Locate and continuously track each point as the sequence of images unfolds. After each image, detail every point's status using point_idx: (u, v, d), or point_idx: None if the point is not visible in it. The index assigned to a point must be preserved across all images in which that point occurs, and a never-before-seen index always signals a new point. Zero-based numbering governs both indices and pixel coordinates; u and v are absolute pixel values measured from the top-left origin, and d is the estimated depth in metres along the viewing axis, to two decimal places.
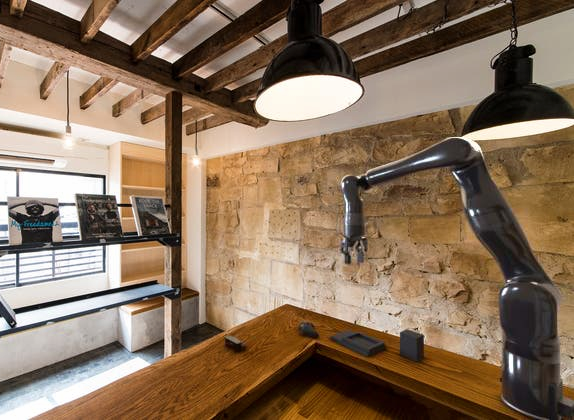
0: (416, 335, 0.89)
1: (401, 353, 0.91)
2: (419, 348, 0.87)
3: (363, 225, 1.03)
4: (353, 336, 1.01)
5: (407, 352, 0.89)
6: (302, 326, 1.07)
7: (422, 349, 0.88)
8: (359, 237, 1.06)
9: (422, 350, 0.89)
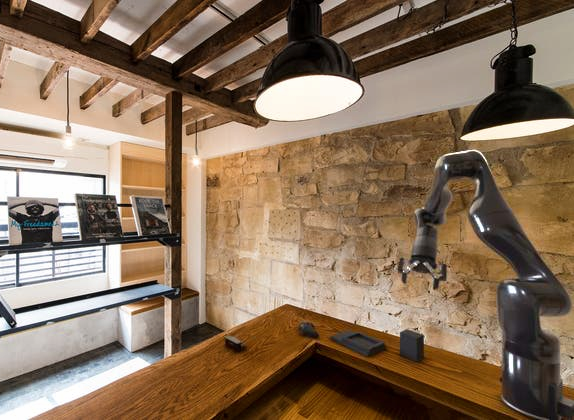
0: (416, 335, 0.89)
1: (401, 353, 0.91)
2: (419, 348, 0.87)
3: (423, 245, 1.01)
4: (353, 336, 1.01)
5: (407, 352, 0.89)
6: (302, 326, 1.07)
7: (422, 349, 0.88)
8: (428, 260, 0.99)
9: (422, 350, 0.89)
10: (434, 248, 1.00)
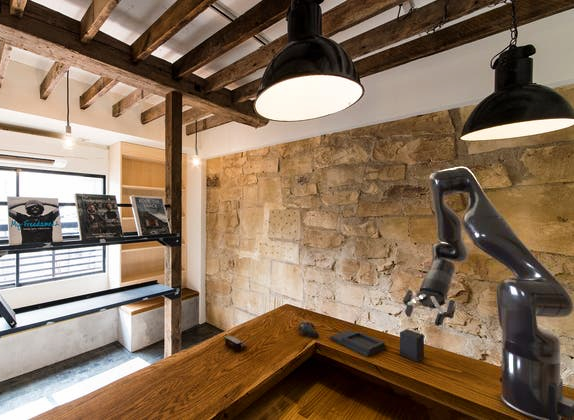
0: (416, 335, 0.89)
1: (401, 353, 0.91)
2: (419, 348, 0.87)
3: (432, 279, 0.97)
4: (353, 336, 1.01)
5: (407, 352, 0.89)
6: (302, 326, 1.07)
7: (422, 349, 0.88)
8: (436, 295, 0.95)
9: (422, 350, 0.89)
10: (445, 283, 0.95)
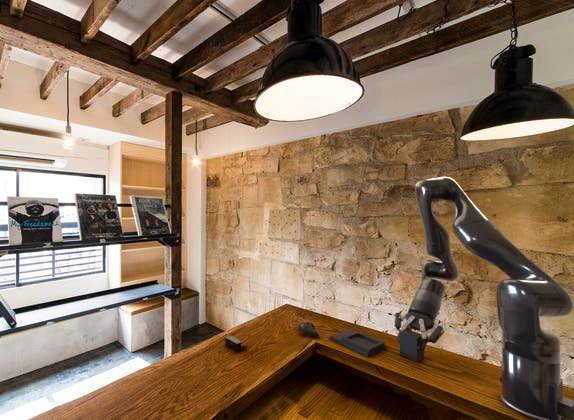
0: (416, 335, 0.89)
1: (401, 353, 0.91)
2: None
3: (421, 300, 0.93)
4: (353, 336, 1.01)
5: (407, 352, 0.89)
6: (302, 326, 1.07)
7: None
8: (425, 318, 0.91)
9: (422, 350, 0.89)
10: (434, 305, 0.91)
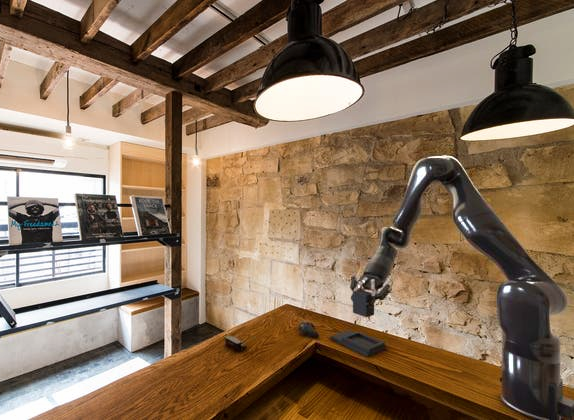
0: (367, 293, 0.96)
1: (354, 311, 0.98)
2: None
3: (374, 263, 1.00)
4: (353, 336, 1.01)
5: (359, 309, 0.96)
6: (302, 326, 1.07)
7: None
8: (376, 278, 0.98)
9: (372, 307, 0.95)
10: (385, 267, 0.98)
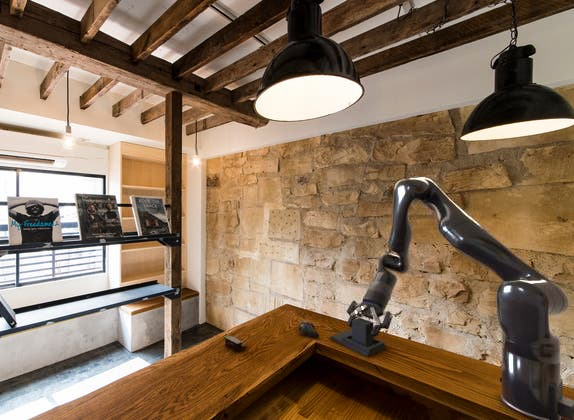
0: (366, 323, 0.95)
1: (353, 340, 0.97)
2: (368, 334, 0.94)
3: (373, 290, 1.00)
4: None
5: (358, 338, 0.96)
6: (302, 326, 1.07)
7: (371, 336, 0.95)
8: (375, 306, 0.98)
9: (372, 336, 0.95)
10: (384, 295, 0.98)
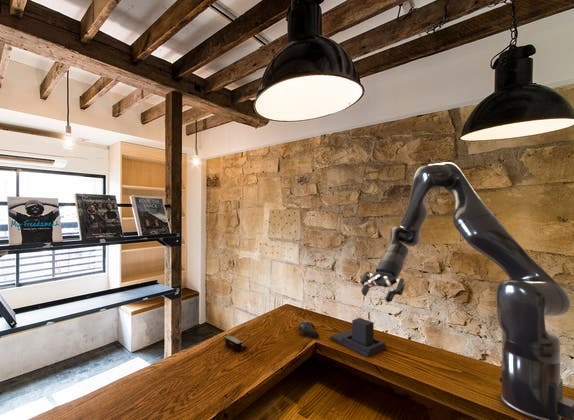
0: (366, 323, 0.95)
1: (353, 340, 0.97)
2: (368, 334, 0.94)
3: (386, 260, 1.05)
4: None
5: (358, 338, 0.96)
6: (302, 326, 1.07)
7: (371, 336, 0.95)
8: (389, 275, 1.02)
9: (372, 336, 0.95)
10: (397, 264, 1.03)
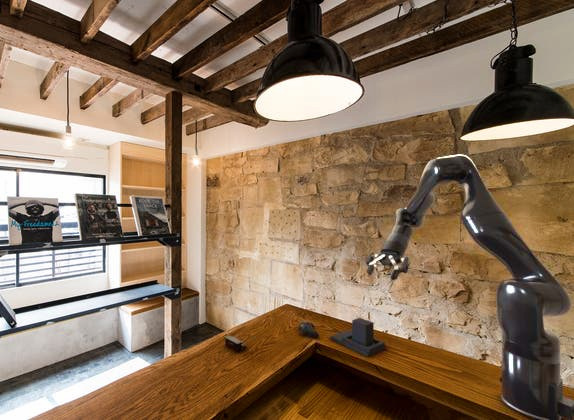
0: (366, 323, 0.95)
1: (353, 340, 0.97)
2: (368, 334, 0.94)
3: (391, 240, 1.06)
4: None
5: (358, 338, 0.96)
6: (302, 326, 1.07)
7: (371, 336, 0.95)
8: (393, 254, 1.04)
9: (372, 336, 0.95)
10: (402, 244, 1.04)
